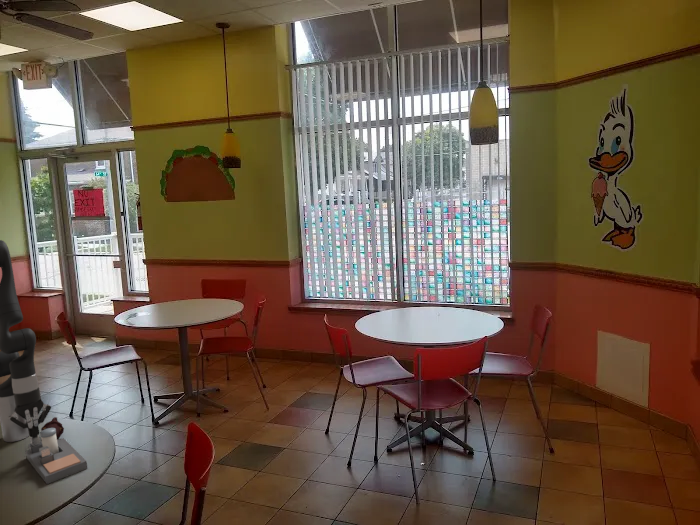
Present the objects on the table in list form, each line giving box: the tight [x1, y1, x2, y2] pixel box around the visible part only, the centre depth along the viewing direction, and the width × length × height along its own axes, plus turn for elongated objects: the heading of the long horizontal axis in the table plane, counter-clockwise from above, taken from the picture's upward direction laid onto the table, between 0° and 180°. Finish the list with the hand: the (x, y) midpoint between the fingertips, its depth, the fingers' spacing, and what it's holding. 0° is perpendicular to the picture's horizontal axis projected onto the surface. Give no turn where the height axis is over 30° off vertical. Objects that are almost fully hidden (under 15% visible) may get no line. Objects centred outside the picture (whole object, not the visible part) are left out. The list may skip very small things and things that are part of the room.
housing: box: [25, 437, 88, 485], centre depth 182 cm, size 25×12×4 cm, turn 43°
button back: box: [29, 435, 41, 447], centre depth 187 cm, size 2×2×3 cm
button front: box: [39, 446, 50, 458], centre depth 179 cm, size 2×2×3 cm
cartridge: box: [39, 428, 59, 455], centre depth 185 cm, size 5×5×10 cm
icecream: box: [40, 416, 65, 439], centre depth 201 cm, size 7×7×15 cm
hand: (34, 436), depth 187 cm, fingers closed
